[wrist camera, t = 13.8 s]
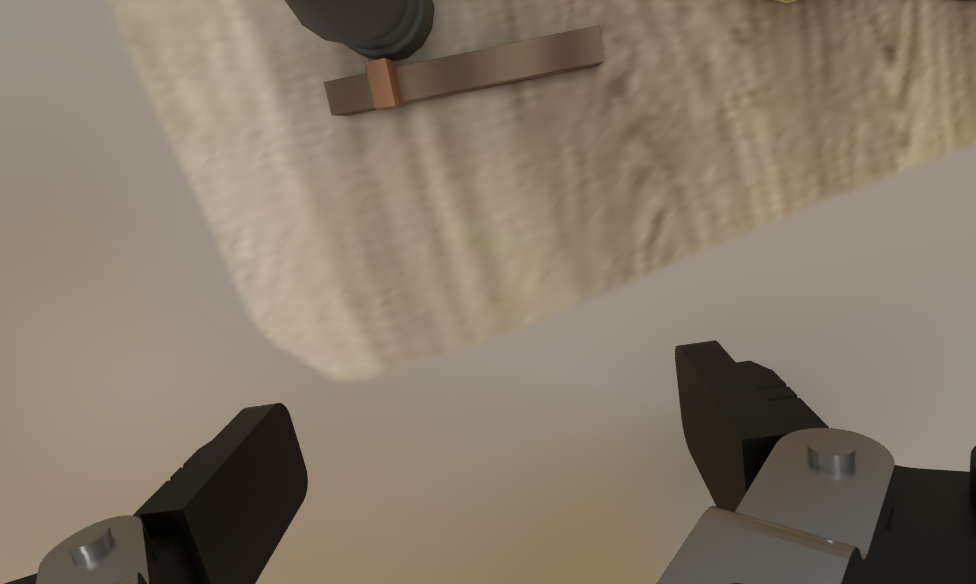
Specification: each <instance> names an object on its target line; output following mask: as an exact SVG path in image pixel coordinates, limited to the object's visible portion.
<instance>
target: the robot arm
mask: <svg viewBox="0 0 976 584" xmlns="http://www.w3.org/2000/svg"><path fill="white" fill-rule="evenodd" d="M958 1H976V0H958ZM675 361H676V370H677V380H678V389H679V399H680V408H681V418H682V424H683V430H684V435H685V439H686V443H687V446H688V449H689V451H690V453H691V456H692V458H693V459H694V461H695V464H696V466H697V468H698V470H699V472H700V474H701V476H702V478H703V480H704V482H705V484H706V486H707V488H708V490H709V492H710V494H711V496H712V498H713V500H714V502H715V504H716V506H717V507H716V506H712V507H709V508H708V509H707V510H706V511H705V512H704V513H703V514H702V516H701V517H700V519H699V520H698V522H697V523H696V525H695V526H694V528H693V530H692V531H691V532H690V534H689V535H688V537H687V538H686V540H685V541H684V543H683V544H682V546H681V547H680V549H679V550H678V552H677V553H676V555H675V557H674V558H673V559H672V561H671V562H670V564H669V565H668V567H667V568H666V570H665V571H664V573H663V574H662V576H661V577H660V579H659V580H658V582H657V583H656V584H976V446H975V447H974V448H973V450H972V452H971V460H970V472H963V471H948V470H933V469H932V470H931V469H918V468H908V467H902V466H897V465H894V459H893V456H892V455H891V454H890V452H889V451H888V450H887V449H886V448H885V447H884V446H883V445H881V444H880V443H878V442H877V441H875V440H873V439H871V438H869V437H866V436H864V435H861V434H858V433H855V432H851V431H846V430H840V429H833V428H829V427H828V426H827V425H826V424H825V423H824V422H823V421H822V420H821V419H820V418H819V417H818V416H817V415H816V414H815V413H814V412H813V411H812V410H811V409H810V408H809V407H808V406H807V405H806V404H805V403H804V402H803V401H802V400H801V399H800V398H798V397H797V395H796V394H795V393H794V392H793V391H792V390H791V388H790V387H787V386H786V383H785V382H784V381H783V380H781V379H780V377H779V376H778V375H777V374H775V372H774V371H773V370H770V369H768V368H766V367H763V366H761V365H759V364H756V363H754V362H752V361H745V362H737V363H736V362H735V361H734V360H733V359H732V358H731V357H730V356H729V355H728V353H727V352H726V351H725V350H724V349H723V348H722V347H721V345H720V344H719V343H718V342H717V341H715V340H714V341H707V342H701V343H694V344H687V345H680V346H676V349H675ZM307 485H308V477H307V470H306V466H305V463H304V460H303V456H302V453H301V450H300V447H299V443H298V440H297V436H296V433H295V430H294V427H293V423H292V420H291V417H290V414H289V411H288V410H287V408H286V407H285V406H284V405H283V404H281V403H276V404H269V405H262V406H255V407H248V408H244V409H243V410H241V411H240V413H238V414H237V416H236V417H235V418H234V419H233V420H232V421H231V422H230V423H229V424H228V425H227V426H226V427H225V428H224V429H223V430H222V431H221V432H220V433H219V434H218V435H217V436H216V437H215V438H214V439H213V440H212V441H210V442H209V443H207V444H206V445H204V446H203V447H201V448H200V449H198V450H197V451H196V453H194V454H193V455H192V457H190V458H189V459H188V460H187V461H186V462H185V463H184V465H183V467H182V468H179V469H178V470H177V471H176V472H175V473H174V474H173V475H172V476H171V480H170V481H166V482H165V483H164V484H163V486H161V487H160V489H159V490H158V491H156V492H155V494H153V496H151V498H149V499H148V501H147V502H145V504H144V505H143V506H142V507H141V508H140V509H139V510H138V511H137V512H136V513H135V514H134V515H133V516H130V515H129V516H118V517H114V518H109V519H106V520H103V521H100V522H97V523H95V524H92V525H90V526H88V527H86V528H84V529H82V530H80V531H78V532H76V533H75V534H73V535H71V536H70V537H68V538H66V539H65V540H64V541H62V542H61V543H59V544H58V545H57V546H56V547H54V548H53V549H52V550H51V551H50V552H49V553H48V554H47V555H46V556H45V557H44V559H43V560H42V562H41V563H40V565H39V568H38V573H37V574H34V575H31V576H27V577H24V578H21V579H18V580H14V581H11V582H8V583H5V584H255V583H256V581H257V579H258V578H259V576H260V574H261V573H262V571H263V569H264V568H265V566H266V564H267V562H268V561H269V559H270V557H271V555H272V554H273V552H274V550H275V549H276V547H277V545H278V543H279V542H280V540H281V538H282V537H283V535H284V533H285V532H286V530H287V528H288V526H289V525H290V523H291V521H292V520H293V518H294V516H295V514H296V513H297V511H298V509H299V508H300V506H301V504H302V503H303V501H304V499H305V496H306V492H307Z"/></svg>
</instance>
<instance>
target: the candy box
mask: <svg viewBox="0 0 976 584" xmlns="http://www.w3.org/2000/svg"><path fill="white" fill-rule="evenodd" d="M776 1H780V2H784V3H791V2H793V1H796V0H776Z"/></svg>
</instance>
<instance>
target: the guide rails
mask: <svg viewBox="0 0 976 584" xmlns="http://www.w3.org/2000/svg"><path fill="white" fill-rule="evenodd" d="M603 61H604V57H603V49H602V41H601V32H600V25H598V26H593V27H589V28H584V29H579V30H574V31H569V32H564V33H559V34H555V35H550V36H545V37H540V38H535V39H530V40H526V41H521V42H516V43H511V44H506V45H501V46H496V47H492V48H487V49H482V50H477V51H472V52H467V53H463V54H458V55H453V56H448V57H443V58H438V59H433V60H429V61H424V62H419V63H414V64H409V65H404V66H400V67H395V62H393V61H391V60H389V59H386V58H382V59H378V60H373V61H368V62H365V65H366V70H367V73H366V74H361V75H356V76H351V77H346V78H341V79H337V80H332V81H327V82H324V85H325V89H326V93H327V97H328V101H329V105H330V109H331V113H332V115H337V116H347V115H352V114H357V113H362V112H367V111H372V110H377V109H380V110H387V109H392V108H398V107H403V106H404V104H408V103H413V102H418V101H423V100H428V99H433V98H438V97H443V96H448V95H453V94H458V93H463V92H468V91H473V90H478V89H483V88H488V87H493V86H498V85H503V84H508V83H513V82H518V81H523V80H528V79H533V78H538V77H543V76H548V75H553V74H558V73H563V72H568V71H573V70H578V69H583V68H588V67H593V66H598V65H599V64H601V63H602V62H603Z"/></svg>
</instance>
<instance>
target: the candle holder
mask: <svg viewBox="0 0 976 584" xmlns="http://www.w3.org/2000/svg"><path fill="white" fill-rule="evenodd" d="M285 1H286V3H287V4H288V5H289V7H290V8H291V10H292V11H293V12H294V14H295V15H296V17H297V18H298V19H299V21H300V22H301V24H302V25H303V26H305V27H306V28H308V29H309V30H311V31H312V32H314V33H315V34H317V35H318V36H320V37H321V38H323V39H325V40H327V41H333V42H338V43H343V44H345V45H346V46H348V47H349V48H351V49H352V50H354V51H355V52H357V53H358V54H361V55H363V56H366V57H368V58H371V59H375V60H378V59H382V58H386V59H389V60H391V61H396V60H400V59H404V58H408V57H409V56H410V55H412V54H413V53H414V52H415V51H417V50H418V49H419V48H420V47H422V45H423V44H424V42H425V40H426V38H427V36H428V35H429V33H430V31H431V29H432V22H433V15H434V5H433V1H432V0H285Z"/></svg>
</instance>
